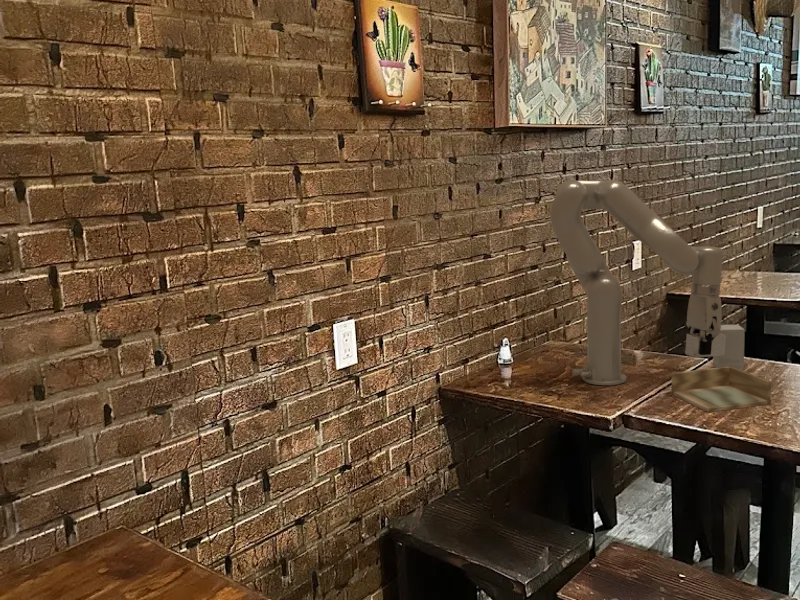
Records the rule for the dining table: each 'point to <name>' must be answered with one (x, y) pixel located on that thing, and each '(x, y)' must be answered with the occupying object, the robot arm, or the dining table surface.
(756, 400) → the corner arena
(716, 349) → the bracket
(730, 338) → the supplement box
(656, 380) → the dining table surface
